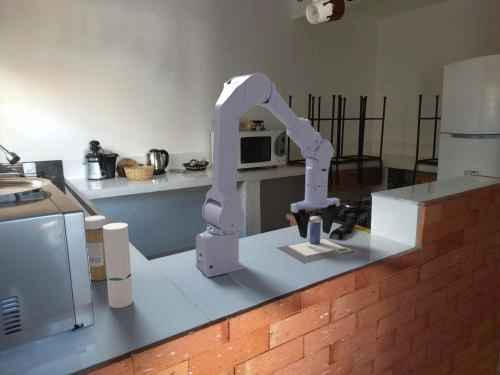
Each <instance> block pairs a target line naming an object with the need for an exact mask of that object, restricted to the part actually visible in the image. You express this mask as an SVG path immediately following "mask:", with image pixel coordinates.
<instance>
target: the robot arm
mask: <svg viewBox="0 0 500 375" xmlns="http://www.w3.org/2000/svg"><path fill="white" fill-rule="evenodd" d="M256 106H258V107H264V108H265V109H267V110H268V111H269V112H270V113H271V114H272V115H273V116H274V117H275V118H276V119H277V120H278V121H279V122H280V123H281V124H283V125H284V126H285V127H286V135H287V136H288V137H289V138H290V139H291V140H292V141H293V142H294V144H295V145H296V146H297V147H298V148H300V153H301V154H300V155H301V156H302V157H303V158H304V159H305V185H304V186H305V187H304V190H305V191H304V200H302V201H298V202H294V203H291V204H290V212H291V214H292V216H293V218H294V220H295V222H296V225H297V229H298V232H299V237H301V238H302V239H307V237H308V225H309V223H310V217H312V216H311V214H310V213H307V211H308V210H309V211H310V210H316V209H320V212H321V223H322V224H321V228H322V230H321V231H322V233H325V234H326V235H330V234H331V230H332V226H333V223H334V221H335V219H336V218H337V215H338V214H339V213H340V207H339V206H340V203H341V202H340V198H337V197H328V186H329V185H328V182H329V181H328V180H329V168H330V167H331V160H332V159H333V156H334V154H335V149H334V148H333V145H332V143H331V142H330V141H329V140H328V139H324V138H322V136H321V133H320V132H319V131H317V130H316V129H315V128H314V127H313V126H312V125H311V121H310V119H309V118H305V117H297V115H296V114H295V112H294V111H293V110H292V108H291V107H290V106H289V105H288V104H287V102H286V101H285V100H284V98H283V97H282V96H281V95H280V94H279V92H278V91H277V87H276V84H275V83H274V82H273V81H272V80H271V79H270V78H269V76H267V75H266V74H265V73H262V72H255V73H252V74H246V75H245V74H244V75H235V76H232V77H231V78H230V79H229V80H228V81H226V82H225V83H224V84H223V90H222V92H221V93H220V96H219V98H218V99H217V101H216V103H215V106H214V115H213V116H214V117H213V140H212V141H213V144H212V147H213V148H212V152H213V153H212V173H211V174H212V175H211V176H212V179H211V180H212V181H211V187H210V189H208V191H207V192H206V194H205V200H204V204H203V205H202V208H201V216H202V218H203V220H204V221H205V222H206V230H204V231H203V232H201V233H198V234H196V237H195V257H196V259H195V260H196V262H195V263H194V264H195V266H196V267H197V268H198V269H199V271H201V272H202V273H203V274H204V275H205V276H206V277H207V278H211V277H215V276H220V275H225V274H228V273H233V272H235V271H236V272H237V271H240V270H245V269H247V266H245V264H243V263H241V262H240V247H239V246H240V242H239V241H240V239H239V238H240V236H239V234H240V229H241V228H242V226H243V224H244V222H245V213H244V210H243V207H242V198H241V196H240V193H239V192H238V189H237V185H238V184H237V180H238V178H237V177H238V161H239V159H238V158H239V156H238V155H239V136H240V135H239V133H240V117H242V115H244V114H246V113H247V111H249V110H250V109H251V108H252V107H256Z"/></svg>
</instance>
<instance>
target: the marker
mask: <svg viewBox="0 0 500 375" xmlns="http://www.w3.org/2000/svg"><path fill="white" fill-rule="evenodd" d="M321 223H322V216H316V215H315V216H310V218H309V241H310V242H309V243H310V244H313V245H318V244H320V239H321V231H322V230H321V228H322V224H321Z"/></svg>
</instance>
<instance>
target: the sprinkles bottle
mask: <svg viewBox="0 0 500 375" xmlns="http://www.w3.org/2000/svg"><path fill="white" fill-rule="evenodd" d="M84 218H85V227H86V240H87V248H88V256H89V266H90V274H91V280H90V281H93V282H98V281H104V280H107V274H106V262H105V249H104V237H103V226H104V225H107V218H106V216H104V215H90V216H87V217H84Z"/></svg>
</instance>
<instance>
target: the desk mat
mask: <svg viewBox="0 0 500 375" xmlns="http://www.w3.org/2000/svg"><path fill="white" fill-rule="evenodd" d="M322 239H326V240H328V241H331V242H333V243H335V244H338V245H340V246H342V247H344V248H345V247H346V246H344V245H341V244H339V243H337V242H335V241H332V240H331V239H328V238H322ZM305 242H306V241H304V242H302V243H305ZM307 242H310V240H309V241H307ZM300 243H301V242H299V243H297V244H300ZM295 244H296V243H293V244H292V245H295ZM290 245H291V244H289V245H284V246H279V247H276V249H278V250H279V251H281V252H284V253H285V254H287V255H288V256H290V257H292V258H294V259H295V260H297V261H298V262H300V263H302V264H307V263H312V262H315V261H317V262H318V261H321V260H326V259H329V258H334V257H338V256H343V255H346V254H351V253H352V254H353V253H355V252H356V251H355V250H353V249H351V250H352V251H351V252H347V253H342V254H339V253H337V252H335V251H331V252H326V253H322V254H317V255H313V256H308V257H306V256H304V255H302V254H300V253H298V252H297V251H295V250H293V249H291V248H289V247H288V246H290Z"/></svg>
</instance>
